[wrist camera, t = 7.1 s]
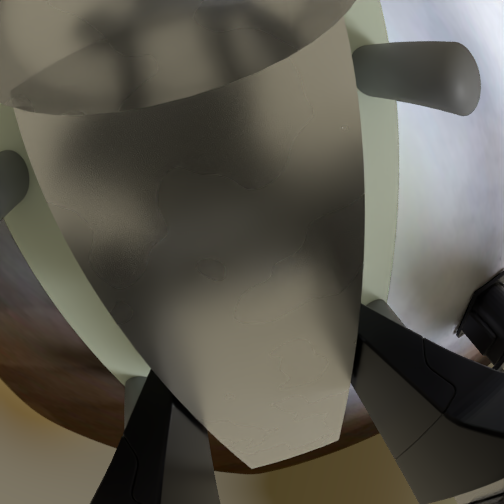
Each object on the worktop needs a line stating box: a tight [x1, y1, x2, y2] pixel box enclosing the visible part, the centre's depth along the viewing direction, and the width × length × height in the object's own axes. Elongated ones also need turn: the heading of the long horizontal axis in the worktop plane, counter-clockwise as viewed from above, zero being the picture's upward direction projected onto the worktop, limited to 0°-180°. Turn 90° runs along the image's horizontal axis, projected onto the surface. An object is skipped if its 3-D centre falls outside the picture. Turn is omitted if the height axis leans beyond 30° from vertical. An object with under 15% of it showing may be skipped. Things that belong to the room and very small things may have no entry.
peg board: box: [0, 0, 481, 428], centre depth 9 cm, size 15×20×5 cm
